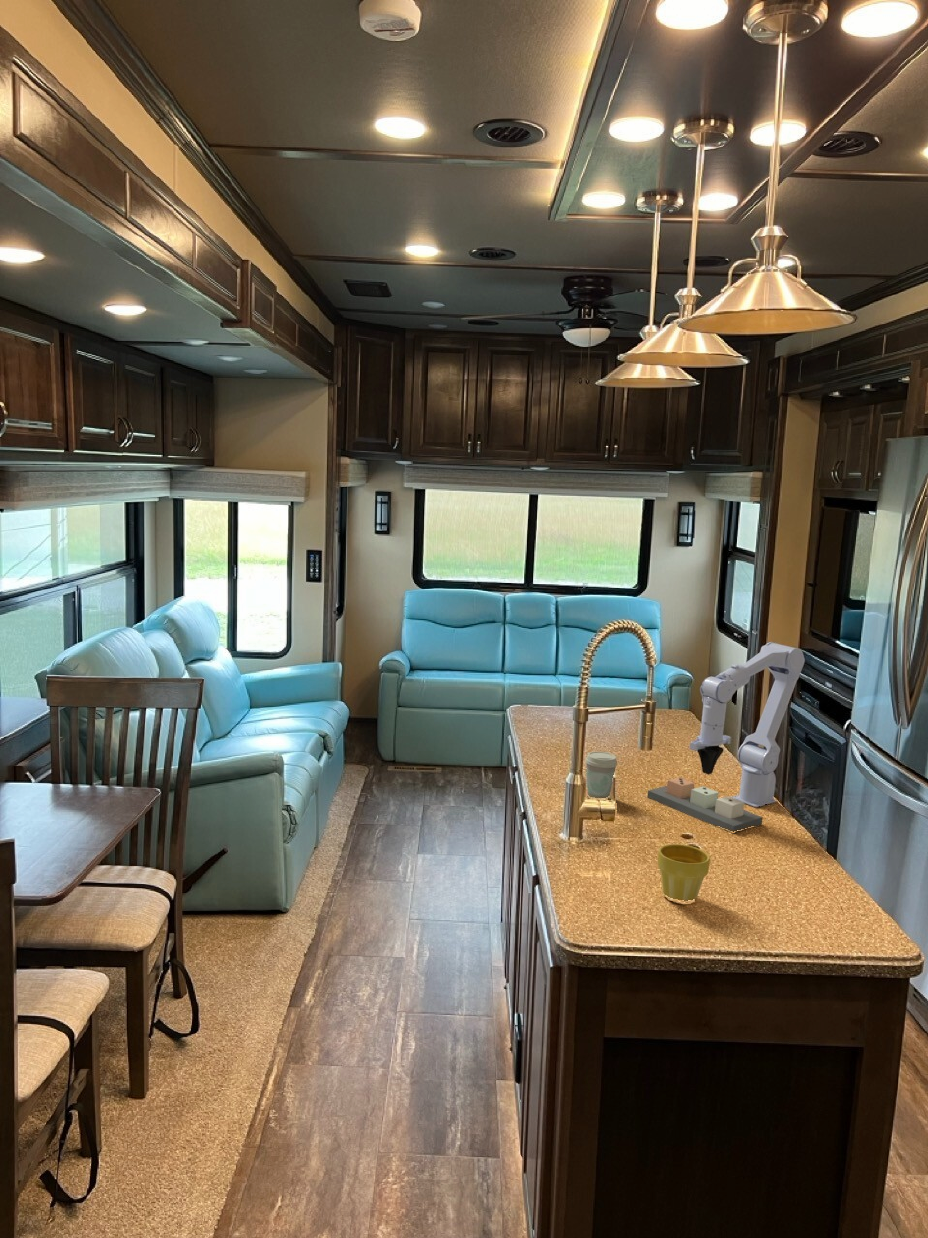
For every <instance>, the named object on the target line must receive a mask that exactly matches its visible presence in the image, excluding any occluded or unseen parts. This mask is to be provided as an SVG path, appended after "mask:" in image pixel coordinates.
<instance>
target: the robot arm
mask: <svg viewBox="0 0 928 1238" xmlns="http://www.w3.org/2000/svg"><path fill="white" fill-rule="evenodd" d="M805 661H806V659H805V656H804V652H803V651H802V649H800V648H799V647H792V646H790V645H789V646H788V645H784V644H780V643H776V642H774V641H770V642H768V643H766V644H765V645H762V646H761V647H760V651H759V653H757V654H756V655H754V656H753V657H751V659H749V660H747V661H746V662H745V663H744V664H740V663H739V664H738V663H737V664H736V663H733V664H732V665H730V667H729V668H727V669H725V671H722V672H720V673H719V674H718V675H716V676H708V677H706V678H704V680H703V681H702V682H701V683H702V684H701V686H700V687H699V691H700V692H699V693H700V695H701V702H702V704H703V705H702V715H701V724H700V733H699V735H696V739H695V740H692V741H690V742H689V750H691V751H693V752H697V753H698V755H699V759H700V764H701V771H702V773H703V774H706V775H712V774H713V772H714V769H715V766H716V764H717V762H718V761H719V758H720V757H721V755H722V754H723V753H724V747H721V746H722V745H725V744H726V745H731V740H732V737H731V736H729V735H726V734H724V730H725V729H724V728H725V719H726V710H727V702H730V700H732V697H733V695H734V694H735V693H736V691H737V690H739V689H741V688H742V687H744V686H745V685H747V684H748V683H749V682H750V681H751V680H750V679H751V676H754V675H755V674H758V673H759V672H762V671H763V670H765V669H768V672H770V673H771V674H772V676H773V678H774V682H773V684H772V687H771V690H770V693H769V695H768V698H767V701H766V703H765V705H764V708H763V710H762V714H761V716H760V719H759V721H758V724H757V727H756V730H755V732H754V733H751V734H749V735H747V736H746V737H745V738H744V741H743V743H742V744H741V745H740V747H739V748H738V751H737V761H738V762H739V764H740V767H741V768H742V770H741V779H740V785H739V786H740V787H739V794H737V795H733V796H731V797H732V798H735V799H737V800H740V801H742V802H744V804H745V805H748V806H751V807H753V808H760V807H764V806H766V805H765V804H767V805H769V804H774V803H776V802H777V800H776V799H774V798H775V797H774V796H775V790H776V783H777V782H776V780H777V779H776V774H775V772H774V771H775V770H776V769H777V767H778V764H779V757H780V752H781V748H780V746H779V745H778V743H777V742H776V738H777V734H778V731H779V729H780V727H781V724H782V721H783V719H784V716H785V713H786V711H787V708H788V705H789V704H790V703H789V702H790V699H791V697H792V694H793V692H794V689H795V687H796V683H797V681H798V680H799V677H800V675H801V672H802V670H803V667H804V664H805ZM775 800H776V801H775ZM759 806H760V807H759Z"/></svg>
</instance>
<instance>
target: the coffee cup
mask: <svg viewBox="0 0 928 1238" xmlns="http://www.w3.org/2000/svg"><path fill="white" fill-rule="evenodd" d="M585 763H586V765H585V767H586V769H585V770H586V789H587V788H588V795H589V796H590V797H595V798H606V797H608V796H609V797H610V796H611V791H612V787H613V782H612V778H613V775H614V776H615V773H616V768H617V766H618V760H617V756H616V755H615V754H613V753H611V752H605V751H597V750H596V751H590V752H588V754H587V756H586V758H585ZM613 779H614V778H613Z"/></svg>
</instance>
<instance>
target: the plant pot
mask: <svg viewBox="0 0 928 1238" xmlns="http://www.w3.org/2000/svg"><path fill="white" fill-rule="evenodd" d="M710 861H711V857H710V855H709V854H708V853H707V852H706V851H704V850H703V849H700V848H699V847H695V846H693V845H689V844H688V845H687V844H681V843H670V844H669V843H668V844H664V845H661V846H660V847H659V848H658V853H657V866H658V869H659V870H660V879H661V885H662V886H661V887H662V894H663V893H664V894H665V895H667V896H668V897H670V898H673V899H678V900H684V901H688V900H693V899H696V898H698V895H699V892H700V890H701V887H702V884H703V881H704V878H705V877H707V875H708V874H709V869H710V863H711V862H710ZM696 900H697V899H696Z"/></svg>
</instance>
